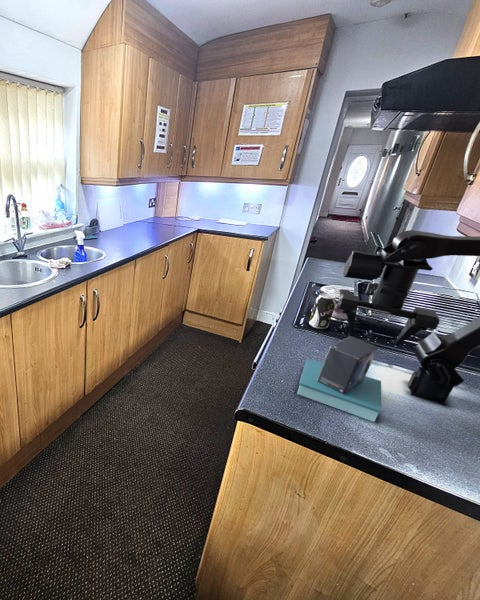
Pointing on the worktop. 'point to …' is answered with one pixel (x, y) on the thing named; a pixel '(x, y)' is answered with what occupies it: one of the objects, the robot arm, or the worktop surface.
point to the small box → (346, 364)
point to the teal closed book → (355, 401)
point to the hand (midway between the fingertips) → (372, 339)
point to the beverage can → (322, 311)
